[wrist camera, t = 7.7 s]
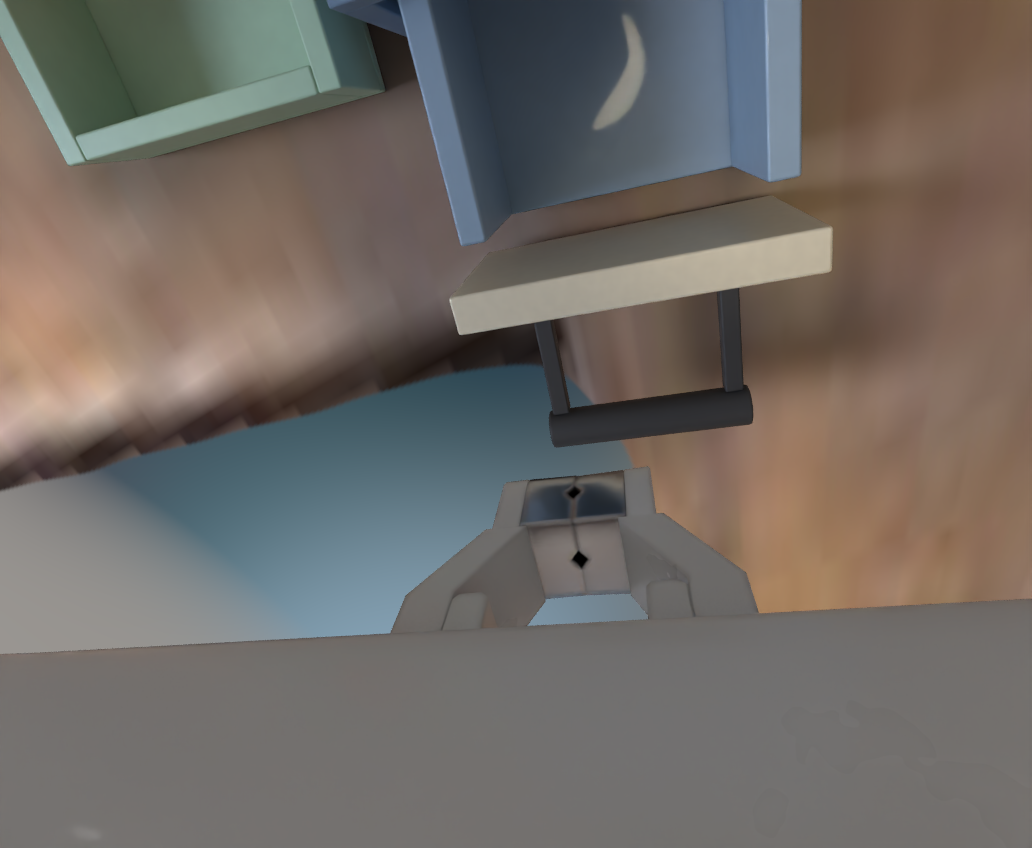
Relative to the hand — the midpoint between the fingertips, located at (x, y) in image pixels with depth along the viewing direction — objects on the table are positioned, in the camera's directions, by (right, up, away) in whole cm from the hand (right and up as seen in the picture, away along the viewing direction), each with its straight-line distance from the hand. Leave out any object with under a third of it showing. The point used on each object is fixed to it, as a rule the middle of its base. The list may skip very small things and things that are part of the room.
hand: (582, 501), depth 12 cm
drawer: (+2, +11, +8) cm, 14 cm away
